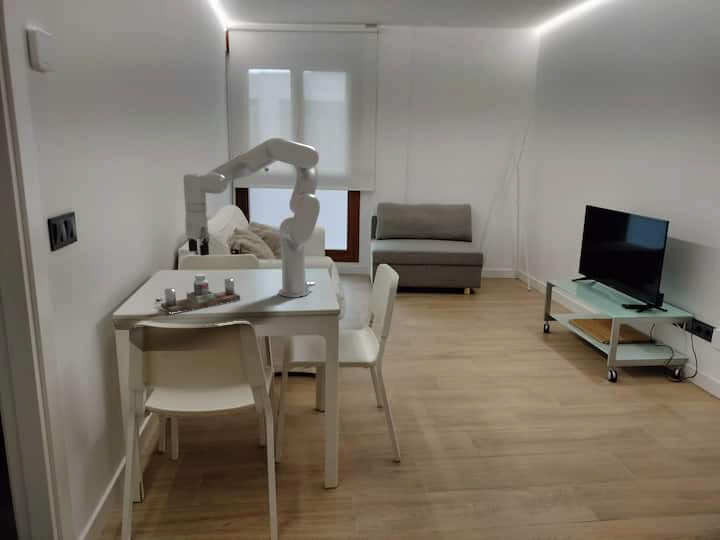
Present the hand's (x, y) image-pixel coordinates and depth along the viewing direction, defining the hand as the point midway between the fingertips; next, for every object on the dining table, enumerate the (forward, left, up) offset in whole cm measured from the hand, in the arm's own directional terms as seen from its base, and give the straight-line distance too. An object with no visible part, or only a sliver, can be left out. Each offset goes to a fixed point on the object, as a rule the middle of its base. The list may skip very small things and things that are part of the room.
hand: (198, 253), depth 201 cm
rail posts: (0, 0, -18) cm, 18 cm away
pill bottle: (0, 0, -18) cm, 18 cm away
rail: (0, 0, -20) cm, 20 cm away
